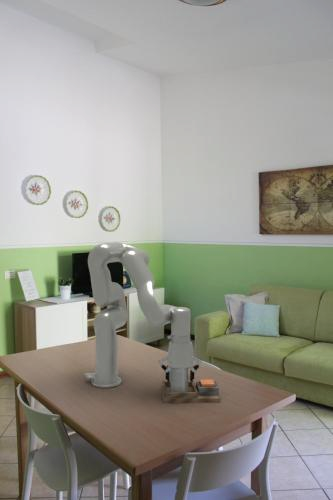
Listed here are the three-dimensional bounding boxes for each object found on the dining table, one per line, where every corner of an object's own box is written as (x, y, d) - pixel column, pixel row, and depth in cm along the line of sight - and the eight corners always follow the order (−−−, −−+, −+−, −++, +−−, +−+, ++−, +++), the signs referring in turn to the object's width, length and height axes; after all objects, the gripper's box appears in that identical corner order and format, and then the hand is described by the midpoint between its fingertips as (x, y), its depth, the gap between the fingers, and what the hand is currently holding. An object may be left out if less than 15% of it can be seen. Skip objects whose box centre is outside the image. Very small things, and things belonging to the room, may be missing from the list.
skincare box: (188, 391, 174) (188, 362, 173) (184, 395, 170) (184, 365, 169) (174, 388, 176) (174, 359, 175) (169, 392, 172) (170, 362, 172)
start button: (201, 390, 171) (201, 384, 171) (199, 385, 176) (199, 379, 176) (214, 390, 171) (214, 384, 171) (212, 385, 176) (212, 379, 176)
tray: (163, 403, 165) (163, 391, 165) (161, 389, 179) (161, 378, 179) (220, 402, 167) (220, 390, 167) (213, 388, 181) (213, 378, 181)
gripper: (159, 341, 167) (158, 384, 168) (203, 341, 169) (202, 384, 170) (158, 336, 175) (157, 378, 176) (200, 336, 176) (199, 377, 177)
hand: (179, 381), depth 173 cm, fingers open, 9 cm apart
